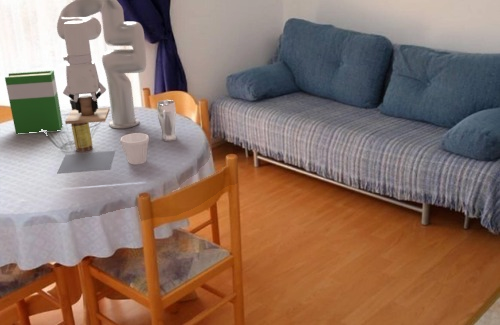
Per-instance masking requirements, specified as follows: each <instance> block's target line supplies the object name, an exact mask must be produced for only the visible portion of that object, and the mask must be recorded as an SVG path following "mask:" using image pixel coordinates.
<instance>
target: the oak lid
mask: <svg viewBox="0 0 500 325" xmlns="http://www.w3.org/2000/svg"><path fill="white" fill-rule="evenodd" d="M92 101H93V98H92V95H82V96H79V102H80V109H81V113H78V110H72V109H71V111H70V113H69V114H68V116H67V118H66V119H65V121H64V122H65V125H71V124H75V123H89V124H90V123H101V122H102V123H105V122H106V120H107V118H108V115H109V113H110V111H111V108H110V107H98V109H97V110H96V112H93V106H92Z"/></svg>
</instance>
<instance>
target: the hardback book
mask: <svg viewBox="0 0 500 325" xmlns="http://www.w3.org/2000/svg"><path fill="white" fill-rule="evenodd" d="M4 81H5V84H6V91H7V96H8V100H9V106H10V112H11V115H12V116H11V117H12V120H13V126H14V132H15V135H16V134H18V133H29V132H39V131H41V129H43V130H47V131H57V130H62V129H61V128H63V126H64V124H63V119H62V115H61V114H62V113H61V105H60V101H59V95H58V89H57V83H56V76H55V70H44V71H43V70H41V71H40V70H39V71H27V72H26V71H24V72H12V73H8V76H5V77H4ZM62 125H63V126H62Z"/></svg>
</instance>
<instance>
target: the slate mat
mask: <svg viewBox="0 0 500 325" xmlns="http://www.w3.org/2000/svg"><path fill="white" fill-rule="evenodd" d="M115 153H116V151H115V150H108V151H94V152H92V151H91V152H82V153H68V154H67V153H66V154H65V155H64V157H63V160H62V161H61V163H60V165H59V167H58V169H57V172H56V174H71V173H81V172H84V173H85V172H94V171H95V172H96V171H106V170H110V171H111V168H112V164H113V161H114V157H115Z"/></svg>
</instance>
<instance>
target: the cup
mask: <svg viewBox="0 0 500 325" xmlns="http://www.w3.org/2000/svg"><path fill="white" fill-rule="evenodd" d="M149 142H150V137H149V135H148V134H146V133H142V132H135V133H134V132H133V133H129V134H125V135H123V136H121V138H120V144H121V146H122V148H123V152H124V155H125V157H126V160H127V161H128V164H131V165H141V164H144V163H146V162H147V157H148V156H147V153H148V146H149Z"/></svg>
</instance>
